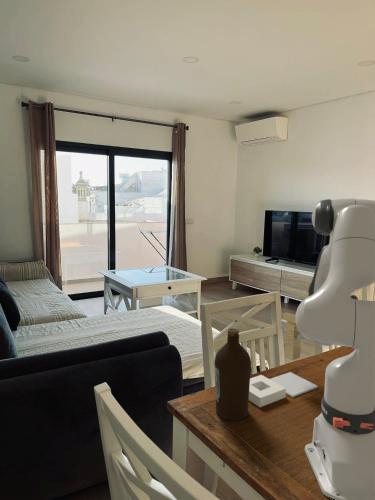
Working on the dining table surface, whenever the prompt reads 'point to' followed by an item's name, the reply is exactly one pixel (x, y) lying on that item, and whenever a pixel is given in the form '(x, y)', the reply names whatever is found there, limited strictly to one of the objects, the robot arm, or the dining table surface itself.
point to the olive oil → (232, 378)
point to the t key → (291, 337)
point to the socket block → (265, 391)
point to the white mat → (294, 384)
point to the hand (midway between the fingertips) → (291, 334)
